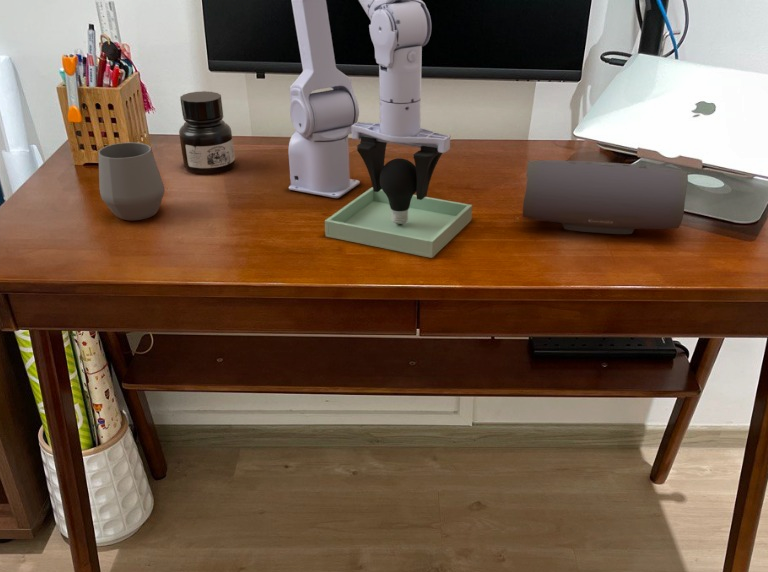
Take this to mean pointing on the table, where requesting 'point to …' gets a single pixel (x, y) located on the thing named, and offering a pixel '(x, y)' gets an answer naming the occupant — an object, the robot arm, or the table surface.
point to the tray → (416, 236)
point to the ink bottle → (205, 134)
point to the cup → (130, 180)
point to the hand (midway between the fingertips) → (400, 193)
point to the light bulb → (399, 187)
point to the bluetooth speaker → (605, 196)
